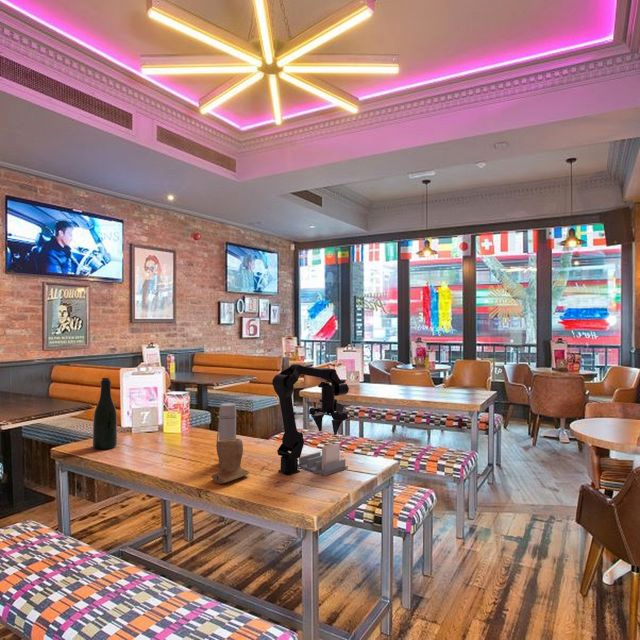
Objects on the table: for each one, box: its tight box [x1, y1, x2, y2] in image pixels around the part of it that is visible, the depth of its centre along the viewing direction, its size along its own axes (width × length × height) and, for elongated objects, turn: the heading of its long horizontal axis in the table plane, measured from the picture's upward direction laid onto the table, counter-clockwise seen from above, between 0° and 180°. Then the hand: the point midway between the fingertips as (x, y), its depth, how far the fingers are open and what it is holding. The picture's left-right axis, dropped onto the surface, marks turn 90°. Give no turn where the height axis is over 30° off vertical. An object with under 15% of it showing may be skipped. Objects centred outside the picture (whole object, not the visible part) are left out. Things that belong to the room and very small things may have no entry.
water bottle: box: [215, 402, 237, 465], centre depth 198 cm, size 9×8×25 cm
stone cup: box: [210, 438, 250, 485], centre depth 179 cm, size 15×12×15 cm
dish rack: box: [298, 451, 349, 476], centre depth 194 cm, size 14×16×4 cm
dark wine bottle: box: [92, 377, 118, 451], centre depth 221 cm, size 10×10×33 cm
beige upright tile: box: [321, 443, 341, 470], centre depth 191 cm, size 8×2×9 cm, turn 136°
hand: (327, 433), depth 203 cm, fingers open, 9 cm apart
